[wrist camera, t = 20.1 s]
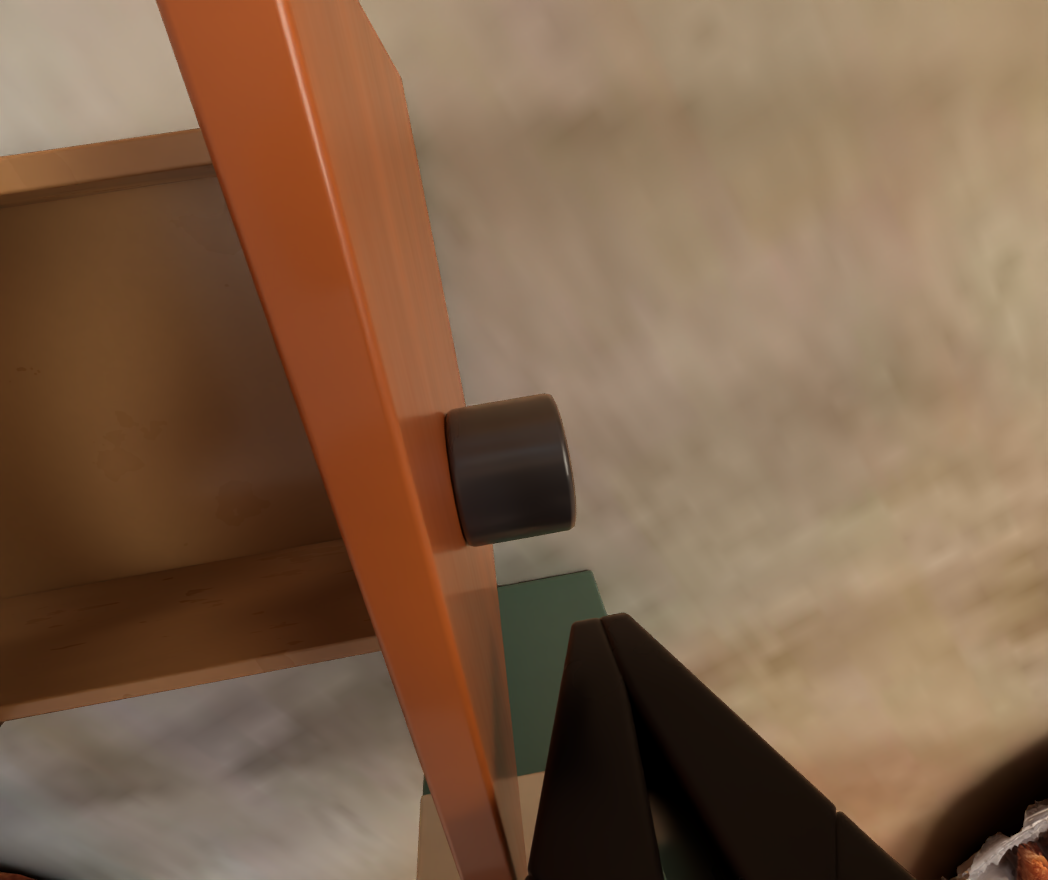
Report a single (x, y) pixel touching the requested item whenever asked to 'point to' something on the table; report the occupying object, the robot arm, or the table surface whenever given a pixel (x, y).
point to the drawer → (261, 411)
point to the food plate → (1013, 852)
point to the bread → (13, 876)
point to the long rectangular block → (523, 696)
